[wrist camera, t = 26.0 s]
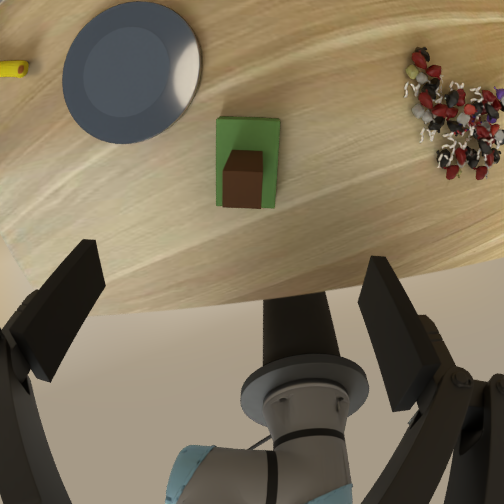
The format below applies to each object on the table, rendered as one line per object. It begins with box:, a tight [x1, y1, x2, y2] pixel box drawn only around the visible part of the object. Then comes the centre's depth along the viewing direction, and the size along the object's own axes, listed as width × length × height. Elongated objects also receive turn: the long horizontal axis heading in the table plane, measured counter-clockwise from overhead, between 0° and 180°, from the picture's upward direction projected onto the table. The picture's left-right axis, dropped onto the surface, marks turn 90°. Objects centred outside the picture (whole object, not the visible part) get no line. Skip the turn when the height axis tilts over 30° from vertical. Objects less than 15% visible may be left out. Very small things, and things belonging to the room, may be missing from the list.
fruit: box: [0, 60, 29, 78], centre depth 23 cm, size 10×2×5 cm, turn 74°
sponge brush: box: [216, 116, 280, 209], centre depth 28 cm, size 9×6×10 cm, turn 178°
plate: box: [62, 1, 202, 144], centre depth 27 cm, size 16×16×1 cm
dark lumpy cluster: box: [404, 47, 504, 180], centre depth 26 cm, size 15×14×5 cm
